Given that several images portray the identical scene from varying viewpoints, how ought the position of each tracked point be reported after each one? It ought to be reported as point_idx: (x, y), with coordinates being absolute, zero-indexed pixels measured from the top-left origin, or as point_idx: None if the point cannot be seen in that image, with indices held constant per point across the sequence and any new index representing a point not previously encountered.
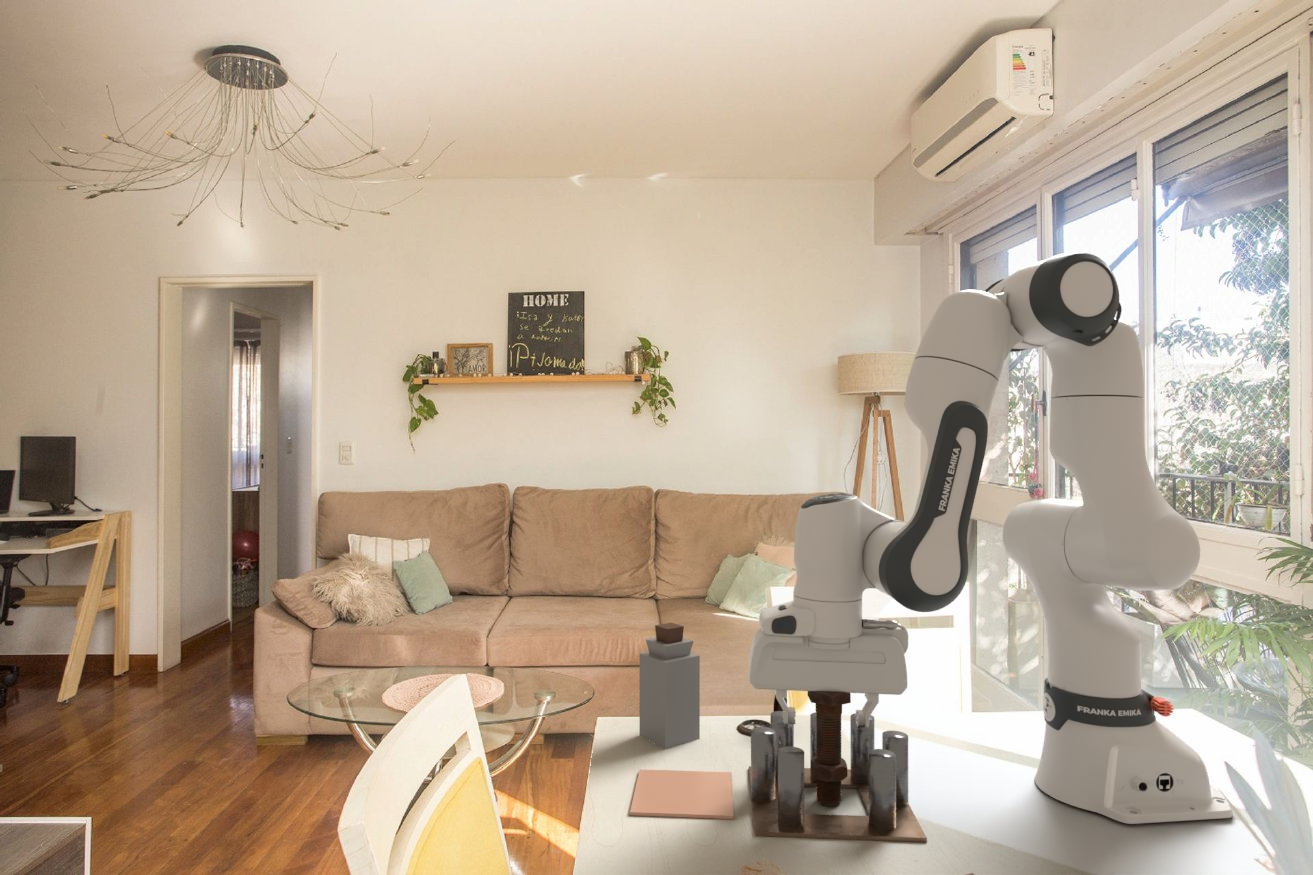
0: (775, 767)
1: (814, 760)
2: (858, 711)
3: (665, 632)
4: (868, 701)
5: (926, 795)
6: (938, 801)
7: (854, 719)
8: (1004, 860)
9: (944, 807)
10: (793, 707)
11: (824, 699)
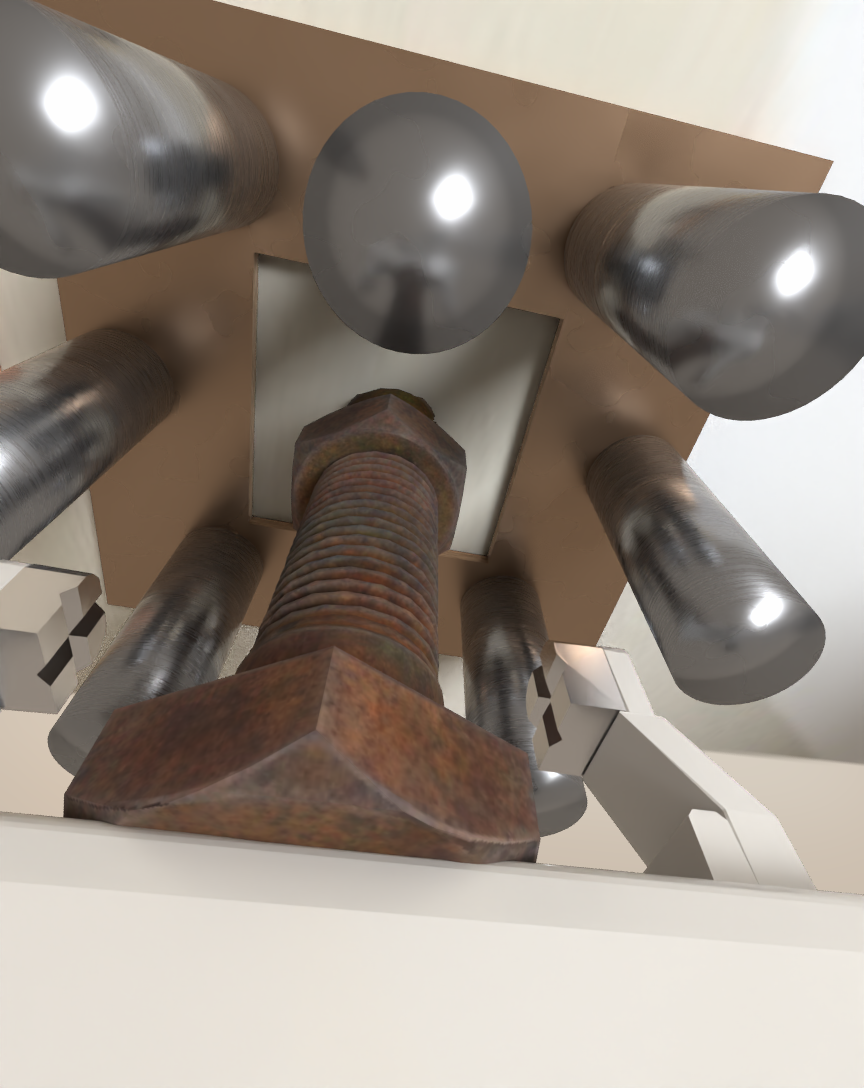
0: (115, 447)
1: (303, 494)
2: (570, 731)
3: None
4: (677, 806)
5: (800, 414)
6: (802, 465)
7: (671, 366)
8: (702, 736)
9: (784, 507)
10: (31, 635)
11: None
